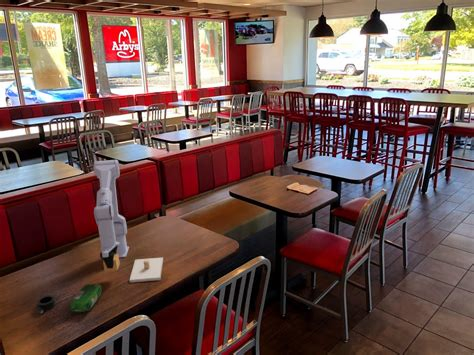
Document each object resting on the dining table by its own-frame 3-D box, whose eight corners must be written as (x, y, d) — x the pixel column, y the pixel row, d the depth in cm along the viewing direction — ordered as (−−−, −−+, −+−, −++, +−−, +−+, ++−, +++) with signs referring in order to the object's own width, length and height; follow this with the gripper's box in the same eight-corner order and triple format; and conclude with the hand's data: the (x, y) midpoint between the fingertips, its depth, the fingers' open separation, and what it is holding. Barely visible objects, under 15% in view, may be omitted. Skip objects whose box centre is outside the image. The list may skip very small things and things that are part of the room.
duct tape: (28, 310, 138) (26, 303, 137) (54, 296, 146) (53, 289, 145) (39, 318, 134) (37, 311, 133) (65, 303, 141) (64, 296, 140)
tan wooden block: (107, 264, 157) (105, 254, 155) (119, 263, 157) (118, 253, 156) (104, 271, 152) (102, 261, 150) (117, 270, 152) (115, 260, 151)
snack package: (67, 318, 133) (65, 305, 132) (87, 291, 148) (85, 279, 146) (87, 318, 133) (85, 306, 131) (105, 291, 147) (103, 280, 146)
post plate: (135, 262, 168) (134, 253, 167) (163, 259, 169) (162, 251, 168) (129, 282, 153) (128, 273, 151) (160, 279, 154) (159, 270, 153)
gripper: (113, 241, 143) (118, 273, 147) (120, 225, 157) (125, 254, 161) (94, 243, 143) (99, 274, 147) (103, 226, 156) (107, 255, 160)
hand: (111, 264), depth 154 cm, fingers closed on tan wooden block, 5 cm apart
